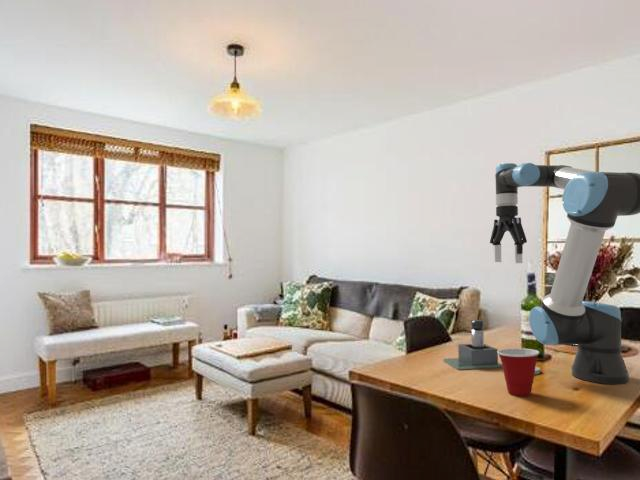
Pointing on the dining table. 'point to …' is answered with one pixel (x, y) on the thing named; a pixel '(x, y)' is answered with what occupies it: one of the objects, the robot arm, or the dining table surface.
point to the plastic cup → (519, 369)
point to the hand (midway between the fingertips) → (507, 262)
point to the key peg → (477, 334)
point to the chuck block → (474, 358)
